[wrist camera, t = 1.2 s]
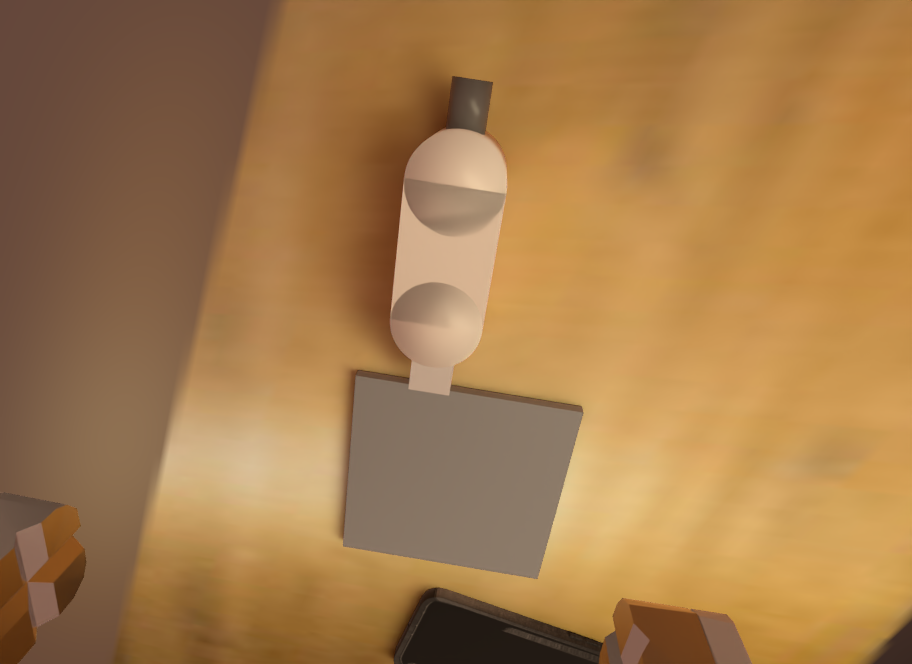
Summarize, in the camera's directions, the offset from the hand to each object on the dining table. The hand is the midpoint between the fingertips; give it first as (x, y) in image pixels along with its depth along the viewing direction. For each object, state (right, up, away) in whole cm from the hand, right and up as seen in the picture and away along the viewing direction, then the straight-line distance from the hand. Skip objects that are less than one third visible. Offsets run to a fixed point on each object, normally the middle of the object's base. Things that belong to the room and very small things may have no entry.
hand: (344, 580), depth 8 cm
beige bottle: (+2, +8, +18) cm, 20 cm away
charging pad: (+2, -5, +24) cm, 24 cm away
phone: (+6, -18, +30) cm, 35 cm away
